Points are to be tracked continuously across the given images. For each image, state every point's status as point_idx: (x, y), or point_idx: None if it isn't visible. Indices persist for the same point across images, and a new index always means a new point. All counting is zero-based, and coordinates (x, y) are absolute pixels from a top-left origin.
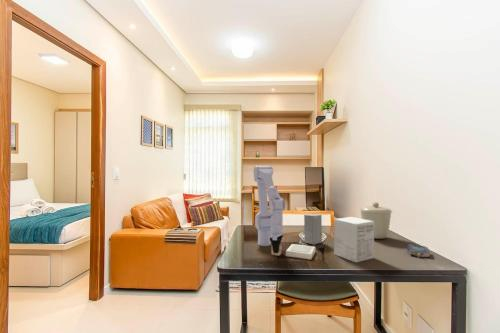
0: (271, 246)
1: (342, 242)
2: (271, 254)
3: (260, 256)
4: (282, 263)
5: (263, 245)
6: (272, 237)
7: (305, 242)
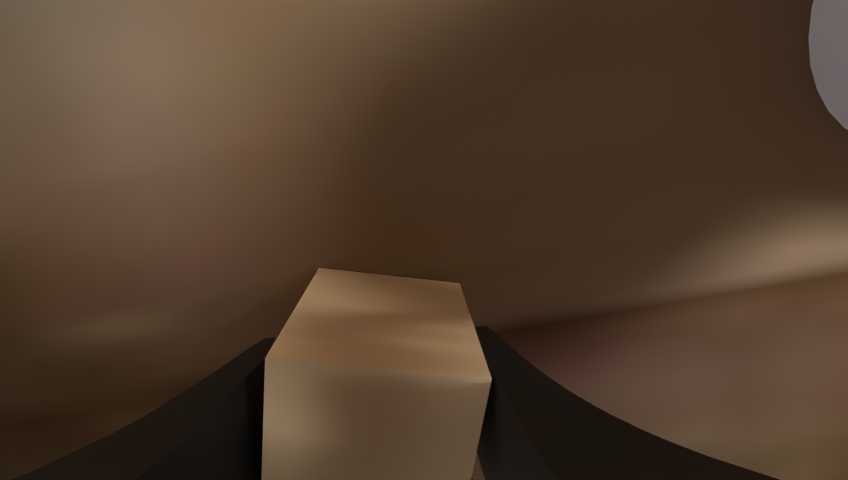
0: (276, 344)
1: None
2: (318, 270)
3: (144, 95)
4: (15, 475)
5: (822, 4)
6: (554, 478)
7: None
